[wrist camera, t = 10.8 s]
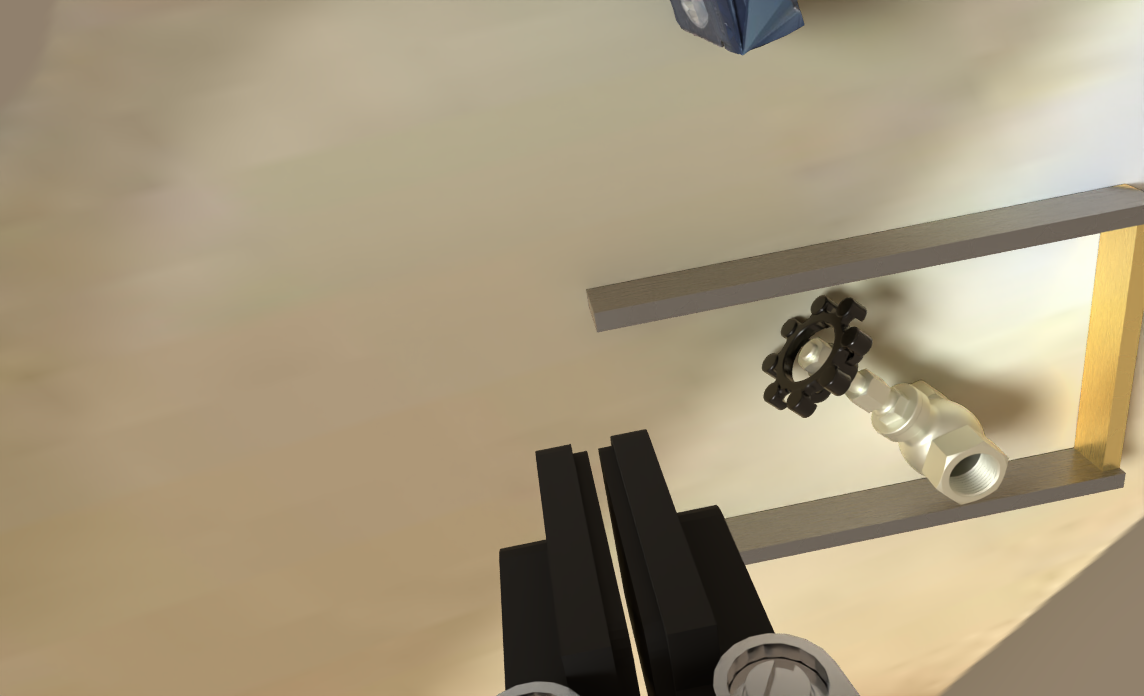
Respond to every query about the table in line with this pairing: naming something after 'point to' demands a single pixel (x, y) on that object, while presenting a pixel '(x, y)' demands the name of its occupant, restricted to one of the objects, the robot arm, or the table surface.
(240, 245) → the table surface
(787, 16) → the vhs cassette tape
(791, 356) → the valve
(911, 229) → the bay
